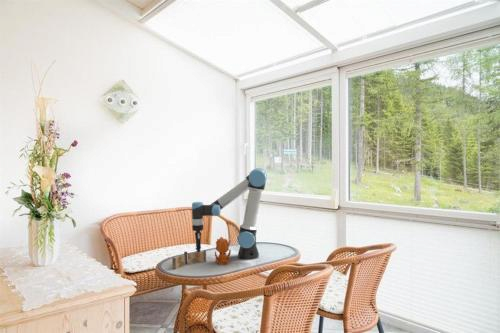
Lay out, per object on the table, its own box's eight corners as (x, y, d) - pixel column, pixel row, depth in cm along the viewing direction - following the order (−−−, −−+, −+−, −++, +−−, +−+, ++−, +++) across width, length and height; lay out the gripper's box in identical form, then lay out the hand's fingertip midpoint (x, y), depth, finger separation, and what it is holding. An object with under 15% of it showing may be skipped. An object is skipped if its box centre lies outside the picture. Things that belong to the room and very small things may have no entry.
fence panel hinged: (188, 264, 232) (188, 252, 231) (187, 263, 233) (187, 252, 233) (206, 261, 236) (205, 250, 236) (205, 261, 238) (205, 250, 238)
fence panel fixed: (185, 263, 233) (185, 251, 233) (188, 264, 232) (187, 251, 232) (172, 269, 221) (172, 256, 221) (174, 270, 221) (174, 257, 220)
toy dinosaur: (227, 260, 240) (226, 234, 240) (233, 264, 231) (232, 237, 230) (212, 262, 236) (211, 236, 235) (217, 266, 226) (217, 239, 225)
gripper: (204, 225, 232) (205, 260, 233) (202, 222, 244) (203, 254, 245) (193, 226, 230) (193, 261, 231) (191, 222, 242) (192, 255, 243)
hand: (198, 258), depth 238 cm, fingers closed
